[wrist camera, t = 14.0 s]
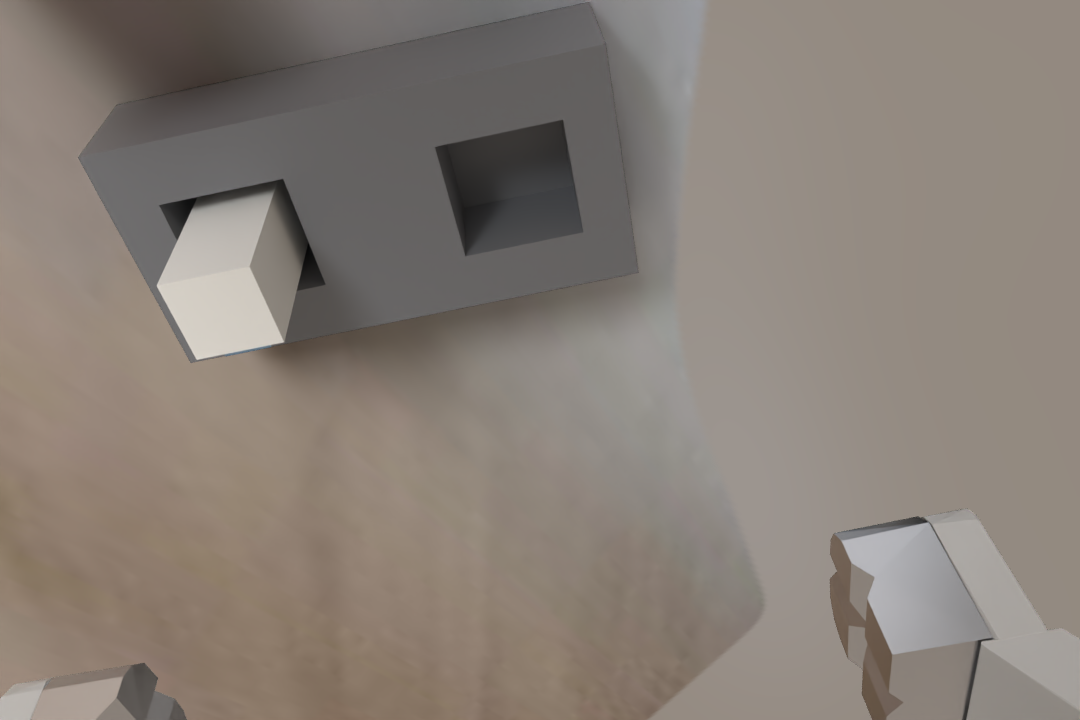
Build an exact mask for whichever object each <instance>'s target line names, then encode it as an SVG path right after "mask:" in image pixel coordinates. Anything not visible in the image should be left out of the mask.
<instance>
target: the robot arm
mask: <svg viewBox="0 0 1080 720" xmlns="http://www.w3.org/2000/svg"><path fill="white" fill-rule="evenodd" d="M830 554H831V557H832V560H833V562H834V564H835V567H836V569H837V572H836V573H835V574H834V575H833V576H832V577H831V579H830V598H831V604H832V609H833V615H834V620H835V623H836V627H837V630H838V633H839V636H840V639H841V642H842V644H843V647H844V650H845V652H846V655H847V657H848V659H849V660H850V661H852V662H853V663H855V664H856V665H857V666H859V667H860V668H861V669H863V681H862V695H863V698H864V700H865V703H866V705H867V708H868V710H869V713H870V715H871V718H872V720H1080V638H1078V637H1076V636H1075V635H1073V634H1071V633H1070V632H1068V631H1066V630H1065V629H1063V628H1058V629H1050V630H1048V629H1047V627H1046V626H1045V624H1044V622H1043V621H1042V619H1041V618H1040V616H1039V614H1038V613H1037V611H1036V610H1035V608H1034V606H1033V605H1032V603H1031V602H1030V600H1029V598H1028V597H1027V595H1026V594H1025V592H1024V590H1023V589H1022V587H1021V586H1020V584H1019V582H1018V581H1017V579H1016V578H1015V576H1014V575H1013V573H1012V571H1011V569H1010V568H1009V566H1008V565H1007V563H1006V561H1005V560H1004V558H1003V557H1002V555H1001V553H1000V552H999V550H998V549H997V547H996V545H995V544H994V542H993V541H992V539H991V537H990V536H989V534H988V533H987V531H986V530H985V528H984V527H983V525H982V523H981V521H980V520H979V518H978V517H977V515H976V514H974V513H973V512H972V511H970V510H969V509H960V510H955V511H950V512H946V513H940V514H935V515H930V516H925V517H921V518H920V517H913V518H908V519H903V520H898V521H893V522H888V523H883V524H878V525H873V526H868V527H863V528H858V529H853V530H849V531H843V532H838V533H834V534H833V536H832V538H831V548H830ZM157 680H158V677H157V676H156V675H155V674H154V673H153V672H152V671H151V670H150V669H149V667H148V666H147V665H146V664H145V663H140V664H134V665H127V666H121V667H115V668H109V669H103V670H96V671H90V672H84V673H78V674H72V675H66V676H59V677H52V678H47V679H41V680H36V681H30V682H25V683H19V684H14V685H13V686H12V687H11V688H10V689H9V690H8V691H7V692H6V693H5V694H4V695H3V696H2V697H1V699H0V720H187V719H186V716H185V713H184V710H183V709H182V708H181V706H180V705H179V704H178V702H177V701H176V700H175V699H174V698H172V697H169V696H167V695H164V694H162V693H159V692H157V691H155V687H156V684H157Z"/></svg>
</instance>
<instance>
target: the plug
mask: <svg viewBox="0 0 1080 720" xmlns="http://www.w3.org/2000/svg"><path fill="white" fill-rule="evenodd" d="M307 246H308V239H307V237H306V235H305V232H304V230H303V227H302V225H301V222H300V220H299V217H298V215H297V212H296V210H295V207H294V205H293V202H292V200H291V197H290V195H289V192H288V190H287V187H286V185H285V182H284V180H283V179H280V180H275V181H271V182H266V183H261V184H257V185H252V186H247V187H242V188H238V189H233V190H228V191H223V192H219V193H214V194H209V195H204V196H200V197H197V200H196V202H195V204H194V206H193V208H192V210H191V213H190V215H189V217H188V219H187V221H186V223H185V225H184V228H183V230H182V232H181V234H180V236H179V238H178V241H177V243H176V245H175V247H174V249H173V251H172V253H171V256H170V258H169V260H168V262H167V264H166V266H165V269H164V271H163V273H162V275H161V277H160V279H159V282H158V284H157V288H158V289H159V291H160V293H161V295H162V297H163V299H164V301H165V302H166V304H167V306H168V308H169V310H170V312H171V313H172V315H173V317H174V319H175V321H176V323H177V324H178V326H179V328H180V330H181V332H182V334H183V336H184V337H185V339H186V341H187V343H188V345H189V347H190V348H191V350H192V352H193V354H194V356H195V358H196V360H199V359H204V358H209V357H214V356H219V355H224V354H225V356H230V355H235V354H240V353H245V352H250V351H255V350H260V349H265V348H270V347H271V345H273V344H278V343H283V342H284V341H285V337H286V333H287V329H288V325H289V320H290V316H291V312H292V308H293V304H294V300H295V296H296V291H297V287H298V283H299V279H300V275H301V271H302V266H303V262H304V258H305V254H306V250H307Z"/></svg>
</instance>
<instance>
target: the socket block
mask: <svg viewBox="0 0 1080 720" xmlns="http://www.w3.org/2000/svg"><path fill="white" fill-rule="evenodd" d="M78 159H79V160H80V162H81V164H82V166H83V168H84V169H85V171H86V173H87V175H88V177H89V179H90V180H91V182H92V184H93V186H94V188H95V190H96V191H97V193H98V195H99V197H100V199H101V200H102V202H103V204H104V206H105V208H106V210H107V211H108V213H109V215H110V217H111V219H112V220H113V222H114V224H115V226H116V228H117V230H118V231H119V233H120V235H121V237H122V239H123V241H124V242H125V244H126V246H127V248H128V250H129V251H130V253H131V255H132V257H133V259H134V261H135V262H136V264H137V266H138V268H139V270H140V272H141V273H142V275H143V277H144V279H145V281H146V282H147V284H148V286H149V288H150V290H151V292H152V293H153V295H154V297H155V299H156V301H157V302H158V304H159V306H160V308H161V310H162V312H163V313H164V315H165V317H166V319H167V321H168V323H169V324H170V326H171V328H172V330H173V332H174V333H175V335H176V337H177V339H178V341H179V343H180V344H181V346H182V348H183V350H184V352H185V353H186V355H187V357H188V359H189V361H190V363H193V362H198V361H203V360H208V359H213V358H217V357H222V356H225V354H224V355H219V356H214V357H209V358H204V359H199V360H196V358H195V356H194V354H193V352H192V350H191V348H190V347H189V345H188V343H187V341H186V339H185V337H184V336H183V334H182V332H181V330H180V328H179V326H178V324H177V323H176V321H175V319H174V317H173V315H172V313H171V312H170V310H169V308H168V306H167V304H166V302H165V301H164V299H163V297H162V295H161V293H160V291H159V289H158V288H157V284H158V282H159V279H160V277H161V275H162V273H163V271H164V269H165V266H166V264H167V262H168V260H169V258H170V256H171V253H172V251H173V249H174V247H175V245H176V243H177V241H178V238H179V236H180V234H181V232H182V230H183V228H184V225H185V223H186V221H187V219H188V217H189V215H190V213H191V210H192V208H193V206H194V204H195V202H196V200H197V197H200V196H204V195H209V194H214V193H219V192H223V191H228V190H233V189H238V188H242V187H247V186H252V185H257V184H261V183H266V182H271V181H275V180H280V179H283V180H284V182H285V185H286V187H287V190H288V192H289V195H290V197H291V200H292V202H293V205H294V207H295V210H296V212H297V215H298V217H299V220H300V222H301V225H302V227H303V230H304V232H305V235H306V237H307V239H308V246H307V250H306V254H305V258H304V262H303V266H302V271H301V275H300V279H299V283H298V287H297V291H296V296H295V300H294V304H293V308H292V312H291V316H290V320H289V325H288V329H287V333H286V337H285V341H284V342H283V343H278V344H273V345H271V347H272V346H277V345H282V344H287V343H292V342H297V341H302V340H307V339H312V338H317V337H322V336H327V335H332V334H337V333H342V332H347V331H352V330H357V329H362V328H367V327H372V326H377V325H382V324H386V323H391V322H396V321H401V320H406V319H411V318H416V317H421V316H426V315H431V314H436V313H441V312H446V311H451V310H456V309H461V308H466V307H471V306H476V305H481V304H486V303H491V302H496V301H501V300H506V299H511V298H516V297H521V296H526V295H531V294H536V293H541V292H546V291H550V290H555V289H560V288H565V287H570V286H575V285H580V284H585V283H590V282H595V281H600V280H605V279H610V278H615V277H620V276H625V275H630V274H635V273H638V266H637V259H636V252H635V245H634V238H633V231H632V224H631V217H630V210H629V203H628V196H627V189H626V182H625V175H624V168H623V161H622V154H621V147H620V140H619V133H618V126H617V119H616V112H615V105H614V98H613V91H612V84H611V77H610V70H609V63H608V56H607V49H606V43H605V41H604V38H603V36H602V33H601V31H600V28H599V26H598V23H597V21H596V18H595V16H594V13H593V11H592V8H591V6H590V3H589V2H587V3H583V4H578V5H573V6H569V7H564V8H560V9H555V10H551V11H546V12H541V13H537V14H532V15H528V16H523V17H518V18H514V19H509V20H505V21H500V22H495V23H491V24H486V25H482V26H477V27H472V28H468V29H463V30H459V31H454V32H450V33H445V34H440V35H436V36H431V37H427V38H422V39H417V40H413V41H408V42H404V43H399V44H394V45H390V46H385V47H381V48H376V49H372V50H367V51H362V52H358V53H353V54H349V55H344V56H339V57H335V58H330V59H326V60H321V61H316V62H312V63H307V64H303V65H298V66H294V67H289V68H284V69H280V70H275V71H271V72H266V73H261V74H257V75H252V76H248V77H243V78H238V79H234V80H229V81H225V82H220V83H216V84H211V85H206V86H202V87H197V88H193V89H188V90H183V91H179V92H174V93H170V94H165V95H160V96H156V97H151V98H147V99H142V100H138V101H133V102H128V103H124V104H119V105H116V107H115V108H114V109H113V111H112V112H111V113H110V115H109V116H108V117H107V119H106V120H105V121H104V123H103V124H102V126H101V127H100V128H99V130H98V131H97V132H96V134H95V135H94V136H93V138H92V139H91V140H90V142H89V143H88V145H87V146H86V147H85V149H84V150H83V151H82V153H81V154H80V155H79V157H78Z"/></svg>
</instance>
